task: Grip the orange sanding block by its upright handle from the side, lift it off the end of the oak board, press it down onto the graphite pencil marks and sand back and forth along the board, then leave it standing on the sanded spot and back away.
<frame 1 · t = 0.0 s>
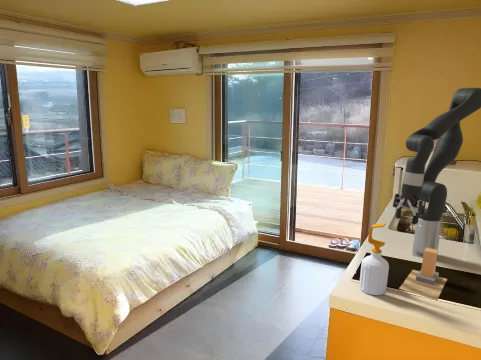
hand: (405, 221, 154), 17 cm above the worktop, tool pointing down, fingers open, 8 cm apart
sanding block: (427, 278, 137), point 1 cm above the worktop, touching oak board
soap bottle: (372, 290, 130), on the worktop
oak board: (423, 287, 133), on the worktop
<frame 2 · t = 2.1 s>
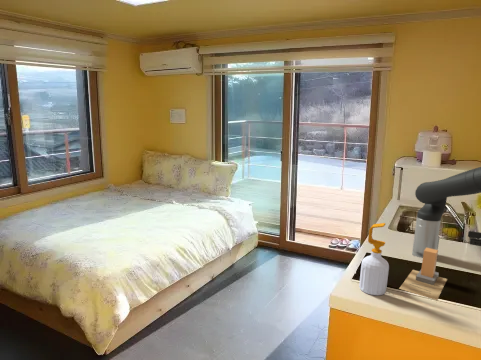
hand: (469, 237, 128), 20 cm above the worktop, tool horizontal, fingers open, 8 cm apart
nothing on the worktop moved.
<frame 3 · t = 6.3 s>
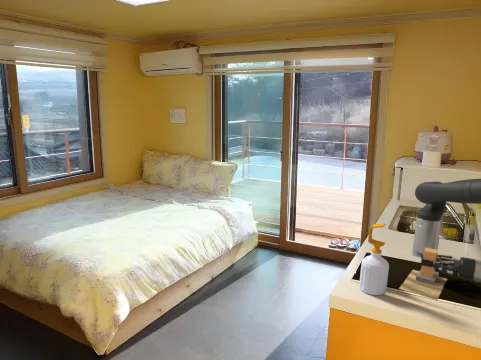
hand: (421, 259, 137), 8 cm above the worktop, tool horizontal, fingers closed on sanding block, 4 cm apart
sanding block: (427, 278, 137), point 1 cm above the worktop, touching gripper, oak board
everything else where it was.
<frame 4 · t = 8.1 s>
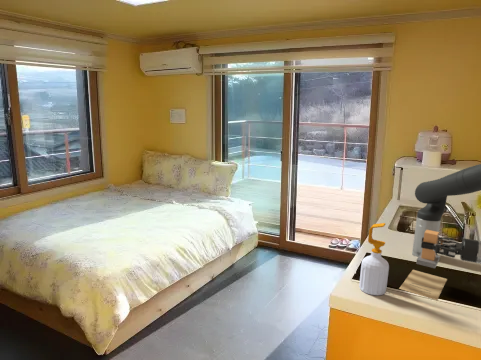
hand: (421, 242, 131), 17 cm above the worktop, tool horizontal, fingers closed on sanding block, 4 cm apart
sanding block: (427, 261, 131), point 10 cm above the worktop, touching gripper
everything else where it was.
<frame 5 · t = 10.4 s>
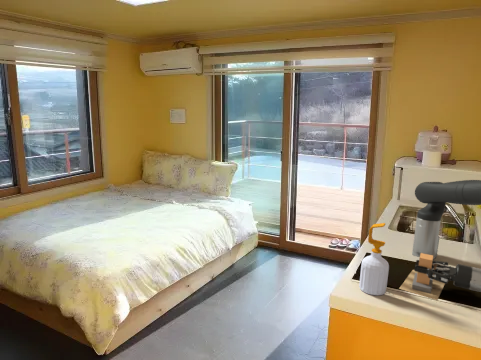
hand: (415, 265, 131), 9 cm above the worktop, tool horizontal, fingers closed on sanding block, 4 cm apart
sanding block: (422, 284, 131), point 2 cm above the worktop, tilted 5°, touching gripper, oak board
everything else where it was.
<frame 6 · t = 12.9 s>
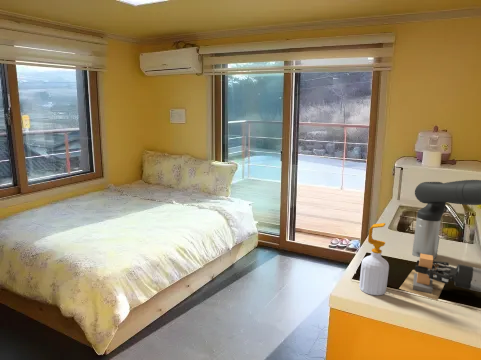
hand: (416, 265, 130), 9 cm above the worktop, tool horizontal, fingers closed on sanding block, 4 cm apart
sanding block: (422, 285, 131), point 2 cm above the worktop, touching gripper, oak board
everything else where it was.
when the fingers open (9 cm above the worktop, at t = 14.0 s): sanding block moves 2 cm, point 2 cm above the worktop.
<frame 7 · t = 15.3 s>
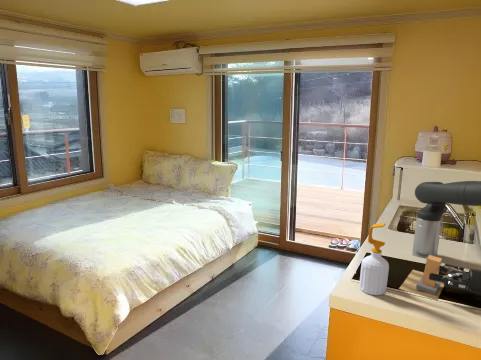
hand: (429, 271, 127), 9 cm above the worktop, tool horizontal, fingers open, 8 cm apart
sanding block: (427, 287, 130), point 2 cm above the worktop, touching gripper
everything else where it was.
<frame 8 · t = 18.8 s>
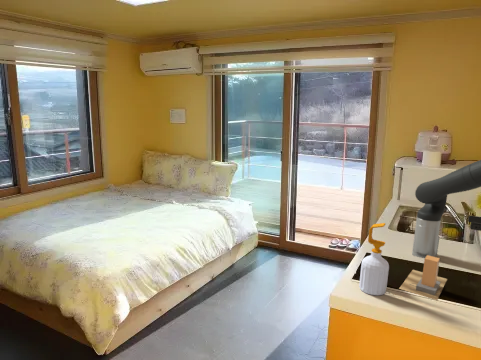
hand: (469, 222, 119), 28 cm above the worktop, tool horizontal, fingers open, 8 cm apart
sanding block: (428, 287, 130), point 2 cm above the worktop, touching oak board
everything else where it was.
at the end: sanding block inside the target area on the oak board (3.3 cm from its centre), point 1.5 cm above the oak board's base; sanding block tilted 0°; the gripper is holding nothing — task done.
